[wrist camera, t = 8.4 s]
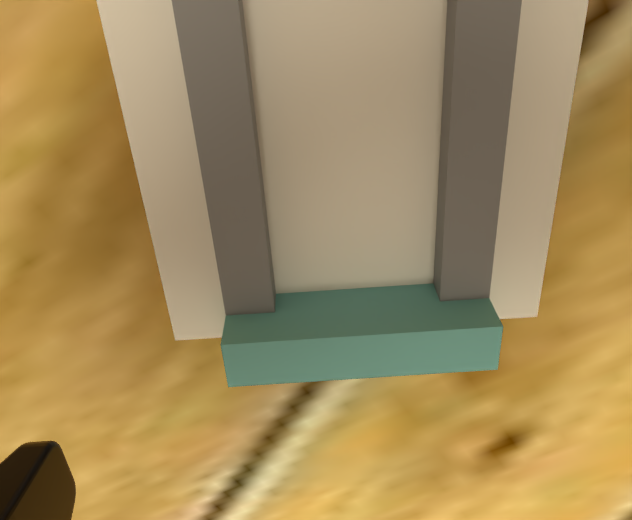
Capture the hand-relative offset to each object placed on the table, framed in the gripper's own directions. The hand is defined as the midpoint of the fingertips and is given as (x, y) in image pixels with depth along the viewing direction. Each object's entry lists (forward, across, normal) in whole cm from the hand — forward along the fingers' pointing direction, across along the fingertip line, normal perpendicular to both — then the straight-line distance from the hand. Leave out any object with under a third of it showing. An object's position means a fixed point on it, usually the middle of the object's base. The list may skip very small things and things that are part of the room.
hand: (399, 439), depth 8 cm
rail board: (+11, 0, -3) cm, 12 cm away
